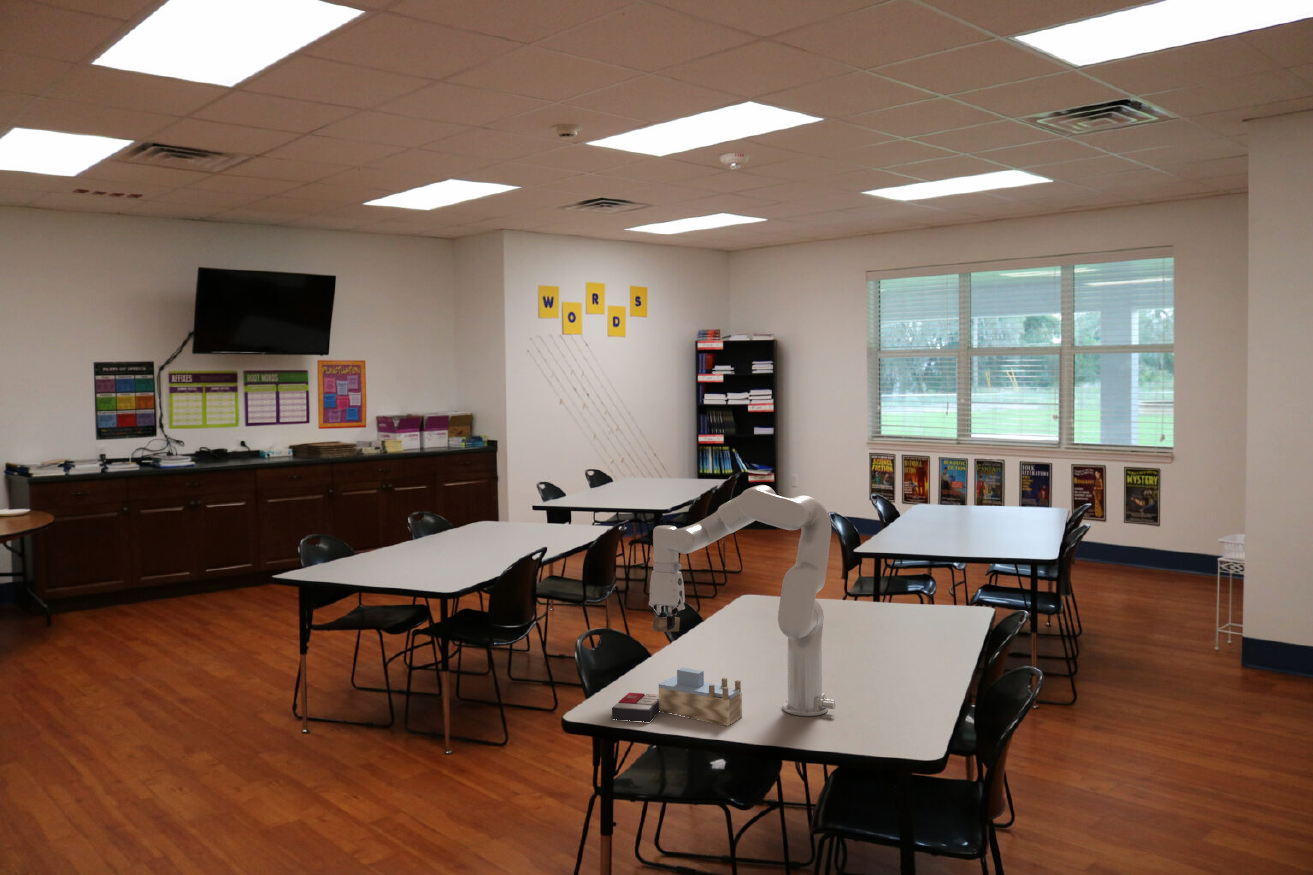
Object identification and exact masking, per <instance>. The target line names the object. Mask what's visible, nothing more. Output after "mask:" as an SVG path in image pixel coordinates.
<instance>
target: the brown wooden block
mask: <svg viewBox="0 0 1313 875" xmlns="http://www.w3.org/2000/svg"><path fill="white" fill-rule="evenodd" d="M652 620H653V621H652V622H653V623H652V630H651V632H656V633H666V632H667V633H668V632H670V633H671V632H679V631H680V625H681V624H680V622H681V621H680V620H681V617H676V616H675V626H674V628H673V629H670V630H668V629H667V617H659V616H658V617H657V616H654V617H653V619H652Z"/></svg>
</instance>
